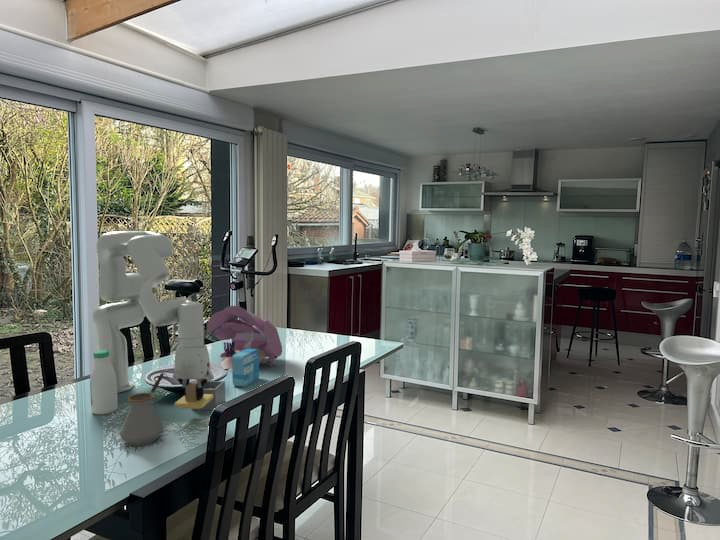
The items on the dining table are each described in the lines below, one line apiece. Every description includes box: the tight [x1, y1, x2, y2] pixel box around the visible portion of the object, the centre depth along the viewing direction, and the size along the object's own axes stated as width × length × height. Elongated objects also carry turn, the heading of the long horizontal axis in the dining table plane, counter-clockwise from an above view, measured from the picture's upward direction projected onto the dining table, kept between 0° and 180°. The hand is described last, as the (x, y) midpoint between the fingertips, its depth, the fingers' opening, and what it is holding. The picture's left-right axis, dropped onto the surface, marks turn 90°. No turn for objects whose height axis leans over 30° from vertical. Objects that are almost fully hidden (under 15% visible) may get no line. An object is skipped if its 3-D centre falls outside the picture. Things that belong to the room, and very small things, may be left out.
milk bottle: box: [89, 350, 119, 415], centre depth 167 cm, size 8×8×20 cm
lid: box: [174, 380, 213, 410], centre depth 161 cm, size 9×9×7 cm
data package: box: [231, 348, 260, 388], centre depth 195 cm, size 12×4×12 cm, turn 161°
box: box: [195, 380, 226, 411], centre depth 173 cm, size 8×8×7 cm
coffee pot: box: [119, 372, 168, 447], centre depth 151 cm, size 21×12×15 cm, turn 177°
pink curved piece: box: [206, 305, 283, 372], centre depth 217 cm, size 35×24×28 cm
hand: (194, 398), depth 161 cm, fingers closed on lid, 3 cm apart
